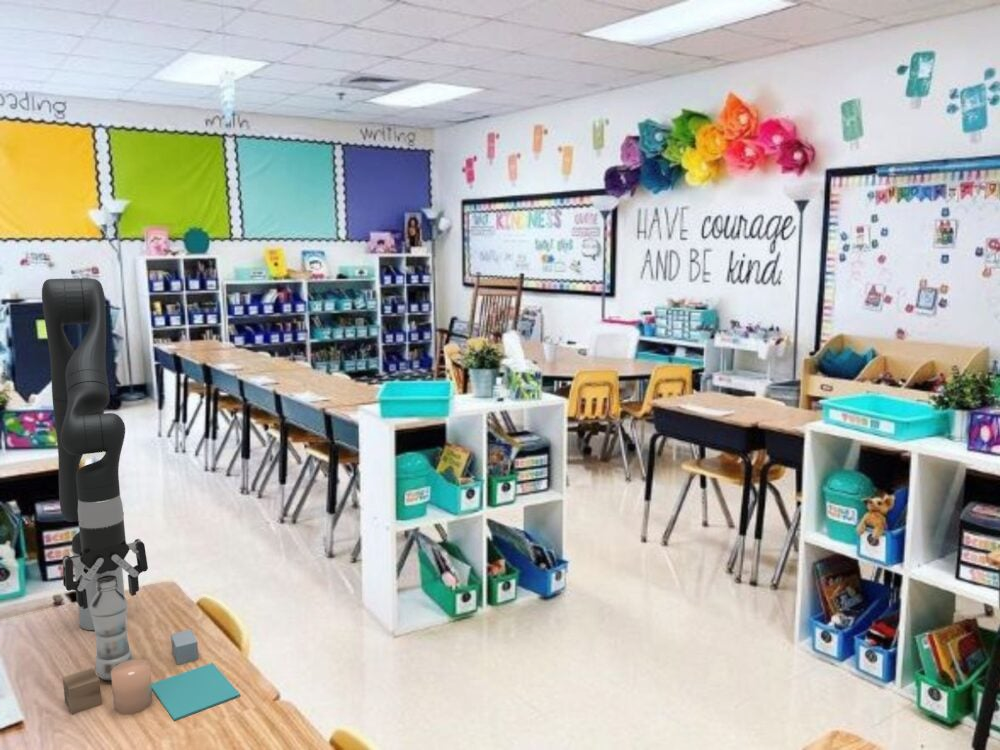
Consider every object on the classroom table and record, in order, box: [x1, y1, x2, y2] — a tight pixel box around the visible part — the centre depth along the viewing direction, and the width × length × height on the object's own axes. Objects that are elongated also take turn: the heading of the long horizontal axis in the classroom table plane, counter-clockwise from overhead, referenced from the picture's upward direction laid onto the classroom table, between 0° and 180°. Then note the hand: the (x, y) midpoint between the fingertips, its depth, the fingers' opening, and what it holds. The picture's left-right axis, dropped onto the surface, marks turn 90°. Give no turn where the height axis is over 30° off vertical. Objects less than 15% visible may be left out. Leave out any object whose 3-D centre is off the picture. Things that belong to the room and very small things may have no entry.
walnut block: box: [62, 667, 103, 716], centre depth 146 cm, size 5×5×5 cm
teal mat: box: [151, 662, 241, 722], centre depth 150 cm, size 14×12×1 cm
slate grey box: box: [170, 629, 199, 666], centre depth 163 cm, size 6×4×4 cm, turn 31°
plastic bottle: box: [90, 575, 134, 681], centre depth 154 cm, size 6×7×20 cm
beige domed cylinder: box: [111, 658, 154, 715], centre depth 146 cm, size 6×6×7 cm
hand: (108, 600), depth 153 cm, fingers open, 8 cm apart
